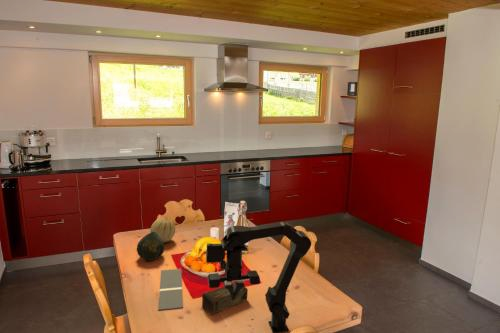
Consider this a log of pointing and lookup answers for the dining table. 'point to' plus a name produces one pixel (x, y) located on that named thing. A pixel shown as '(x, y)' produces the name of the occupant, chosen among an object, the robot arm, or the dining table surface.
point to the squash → (150, 246)
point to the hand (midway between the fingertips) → (233, 299)
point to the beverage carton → (222, 299)
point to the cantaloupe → (163, 229)
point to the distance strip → (170, 290)
